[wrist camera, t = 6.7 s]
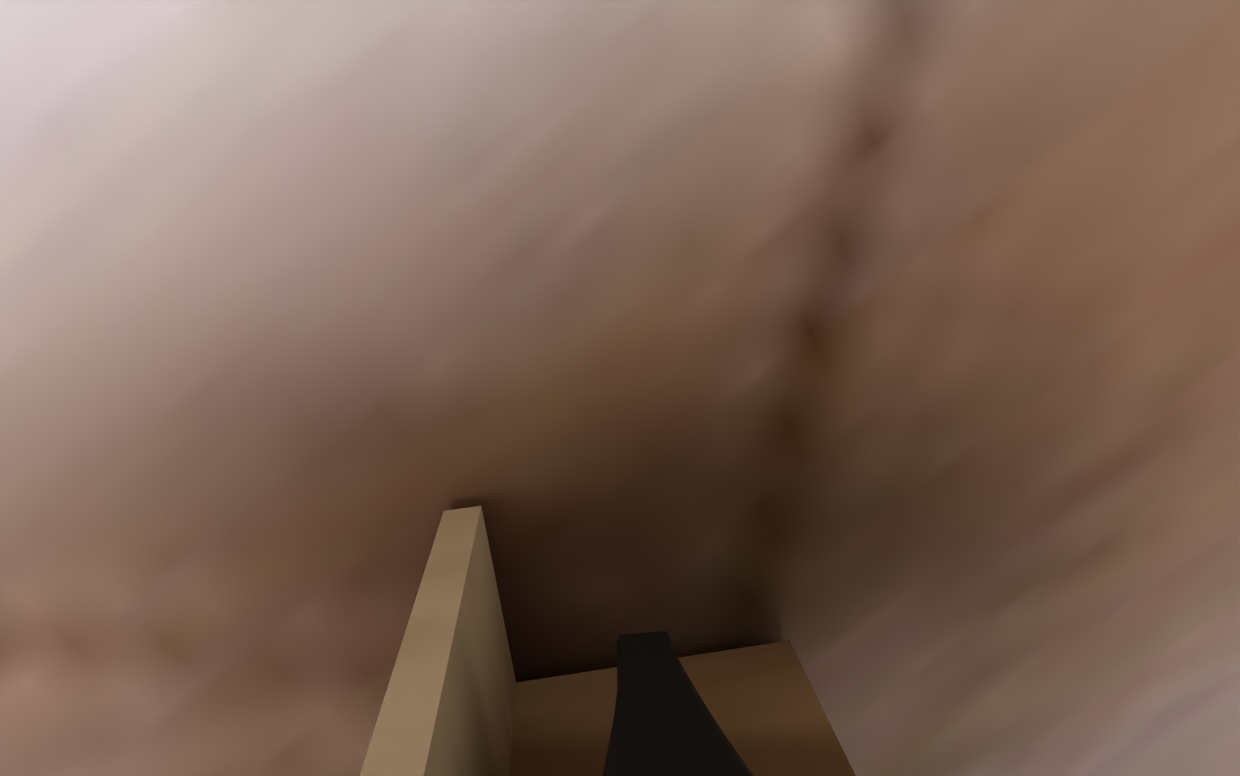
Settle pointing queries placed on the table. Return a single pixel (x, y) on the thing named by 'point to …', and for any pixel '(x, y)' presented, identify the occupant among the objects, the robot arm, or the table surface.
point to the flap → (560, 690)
